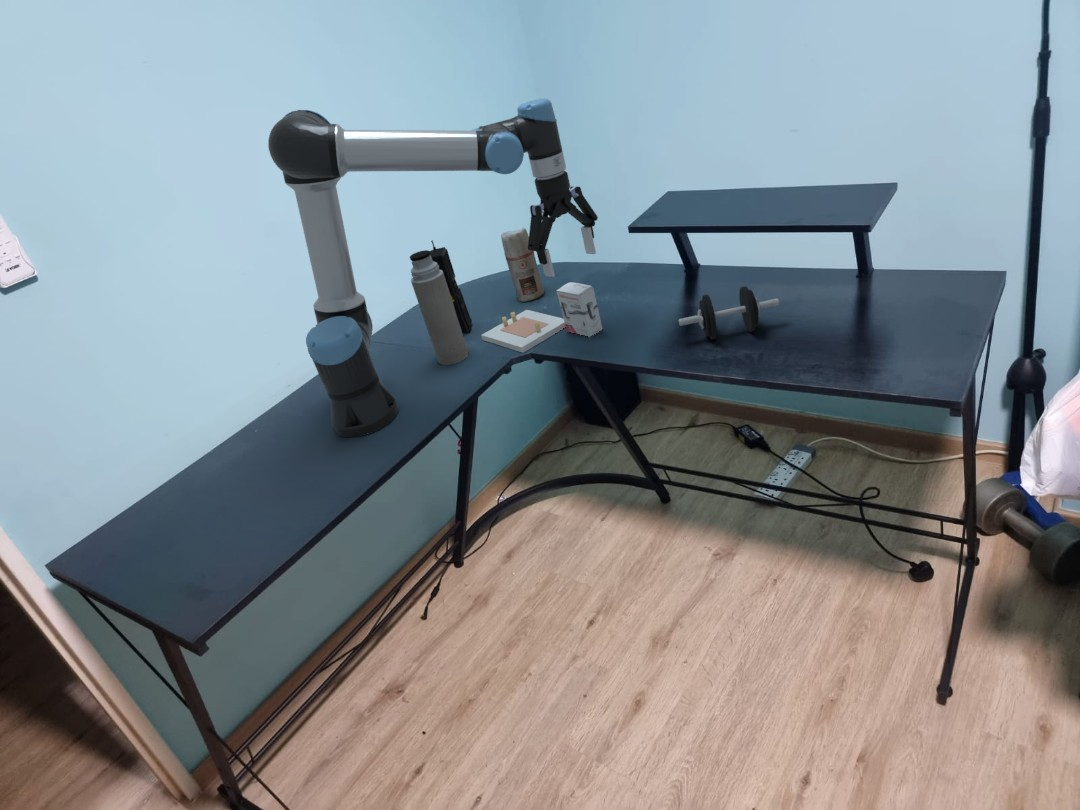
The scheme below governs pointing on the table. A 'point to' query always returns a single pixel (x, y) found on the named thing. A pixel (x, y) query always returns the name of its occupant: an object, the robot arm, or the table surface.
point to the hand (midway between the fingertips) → (570, 264)
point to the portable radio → (452, 287)
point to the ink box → (579, 309)
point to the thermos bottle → (437, 309)
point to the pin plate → (524, 330)
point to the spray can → (522, 265)
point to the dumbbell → (729, 312)
